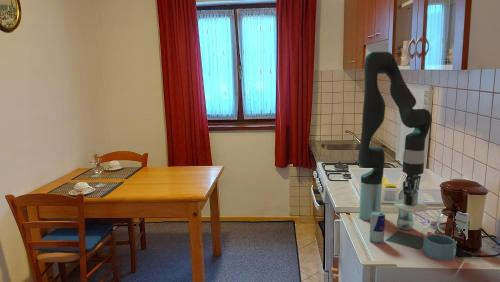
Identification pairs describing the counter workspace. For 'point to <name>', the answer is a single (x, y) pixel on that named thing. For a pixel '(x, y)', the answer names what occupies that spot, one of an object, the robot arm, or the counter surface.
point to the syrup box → (463, 222)
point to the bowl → (439, 247)
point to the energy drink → (377, 227)
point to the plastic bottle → (404, 216)
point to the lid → (415, 206)
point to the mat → (407, 239)
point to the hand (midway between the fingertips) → (410, 203)
